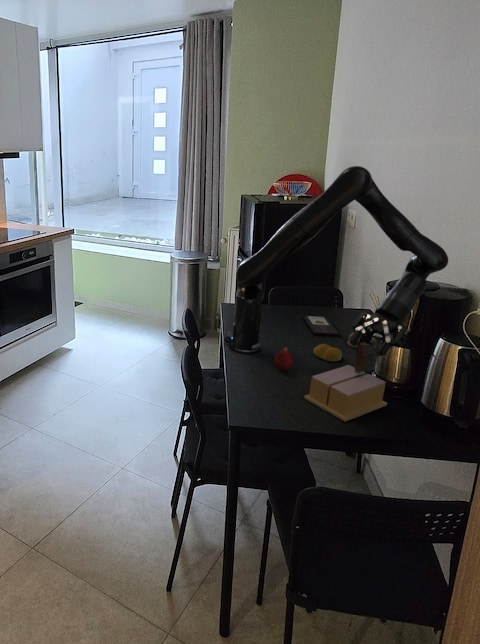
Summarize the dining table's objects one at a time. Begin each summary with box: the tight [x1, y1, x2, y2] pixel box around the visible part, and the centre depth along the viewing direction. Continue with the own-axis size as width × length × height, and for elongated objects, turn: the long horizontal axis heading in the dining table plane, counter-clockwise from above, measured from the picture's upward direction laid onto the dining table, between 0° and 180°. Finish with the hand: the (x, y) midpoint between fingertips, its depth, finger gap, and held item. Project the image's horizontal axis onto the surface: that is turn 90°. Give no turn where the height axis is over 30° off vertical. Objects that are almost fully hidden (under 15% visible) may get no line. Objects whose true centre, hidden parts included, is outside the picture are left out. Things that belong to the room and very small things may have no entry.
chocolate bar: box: [303, 315, 340, 337], centre depth 195 cm, size 9×1×18 cm
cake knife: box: [354, 342, 370, 378], centre depth 139 cm, size 3×2×16 cm, turn 118°
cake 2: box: [346, 332, 378, 350], centre depth 177 cm, size 10×10×5 cm
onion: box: [273, 347, 294, 372], centre depth 157 cm, size 6×6×8 cm
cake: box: [303, 364, 388, 423], centre depth 138 cm, size 18×14×7 cm
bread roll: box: [313, 343, 343, 362], centre depth 168 cm, size 8×9×4 cm
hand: (365, 349), depth 137 cm, fingers open, 8 cm apart
